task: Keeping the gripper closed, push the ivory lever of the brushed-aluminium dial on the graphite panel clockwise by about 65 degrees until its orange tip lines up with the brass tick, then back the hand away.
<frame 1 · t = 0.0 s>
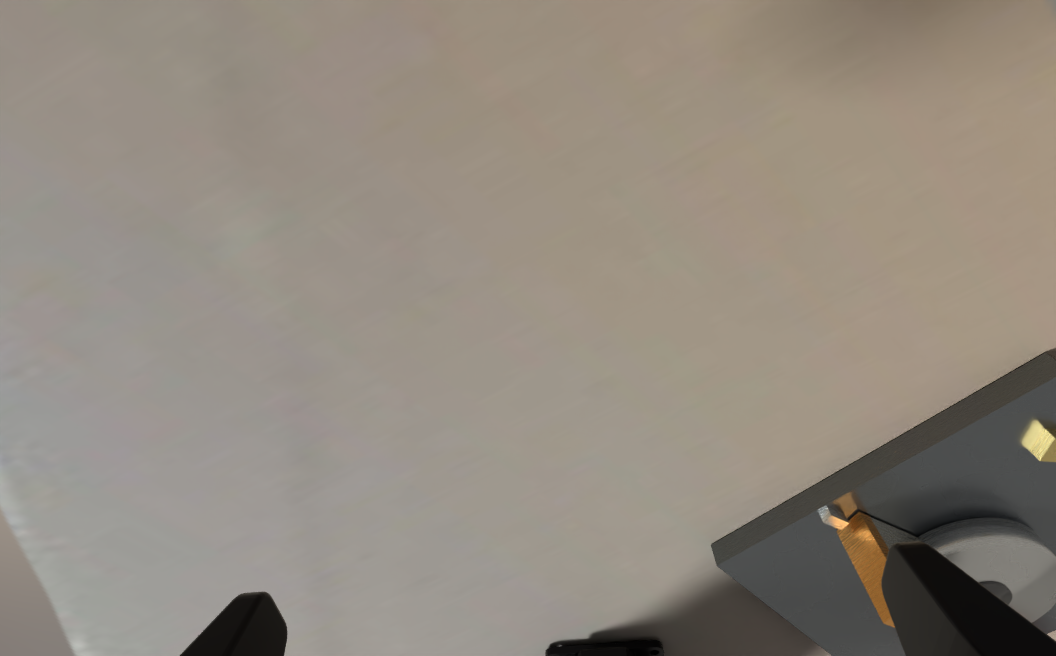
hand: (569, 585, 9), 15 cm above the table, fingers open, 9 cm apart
panel: (945, 546, 30), on the table
dial: (962, 601, 27), point 4 cm above the table, hinge at 0.0°
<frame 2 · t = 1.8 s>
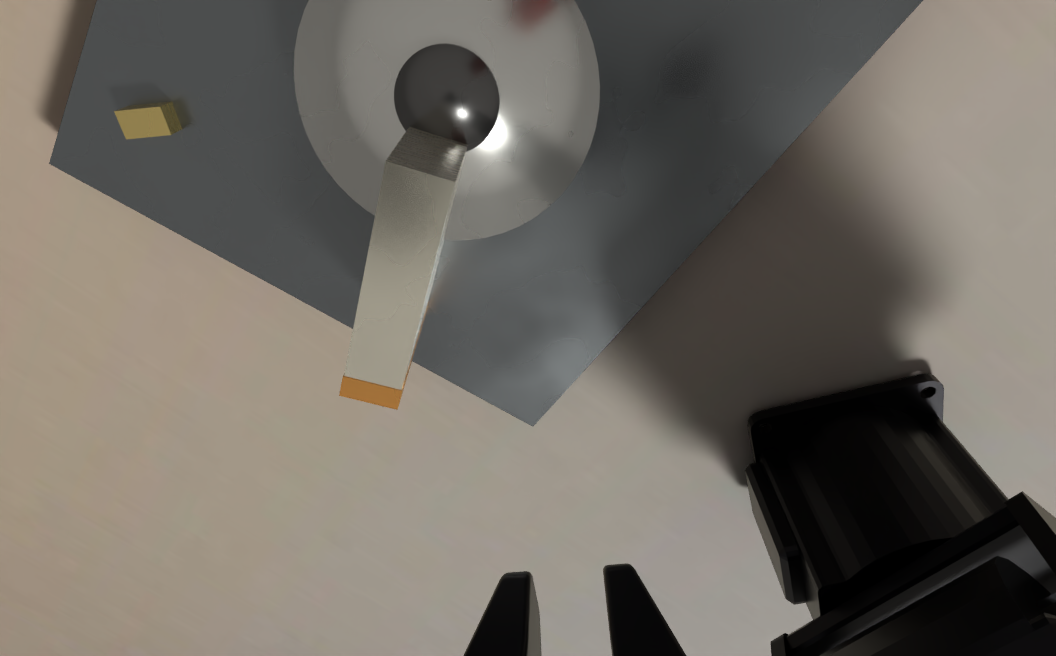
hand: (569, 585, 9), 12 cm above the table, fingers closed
panel: (460, 77, 17), on the table
dial: (427, 177, 15), point 3 cm above the table, hinge at 0.0°
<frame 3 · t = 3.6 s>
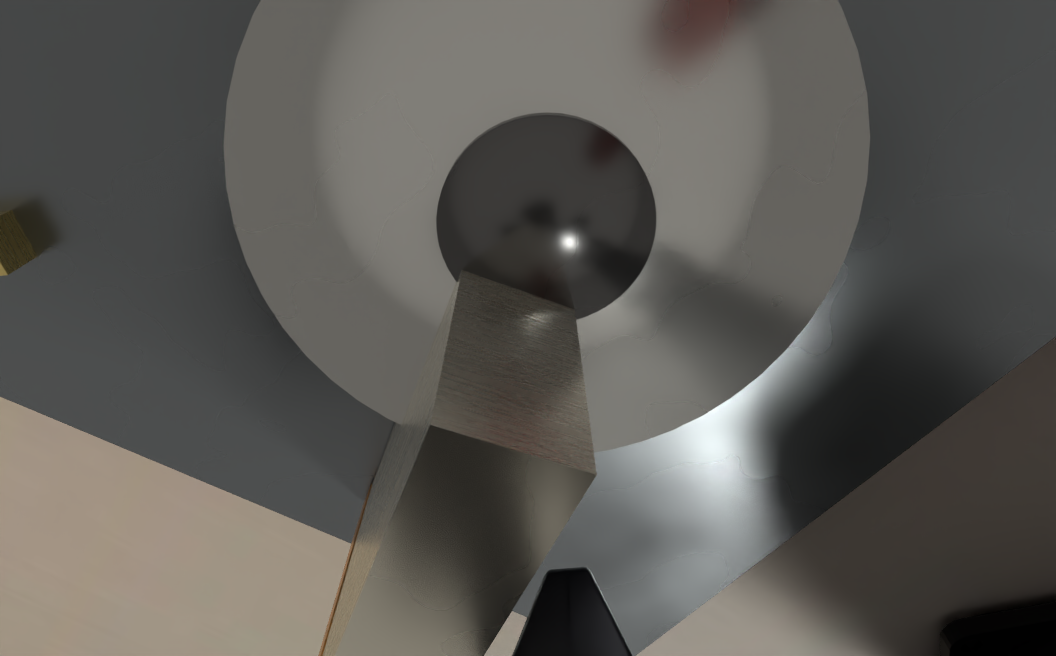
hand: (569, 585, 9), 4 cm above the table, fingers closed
panel: (540, 153, 9), on the table
dial: (491, 372, 7), point 3 cm above the table, hinge at 5.1°, touching gripper
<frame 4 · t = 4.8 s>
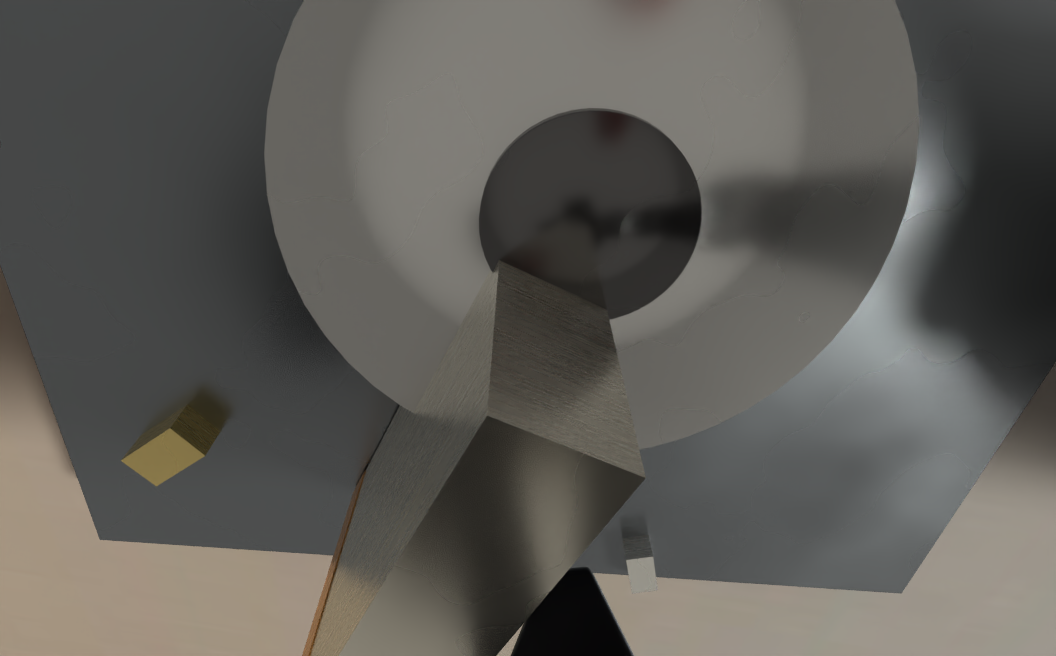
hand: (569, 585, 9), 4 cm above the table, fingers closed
panel: (571, 150, 9), on the table
dial: (519, 367, 7), point 4 cm above the table, hinge at 38.6°, touching gripper
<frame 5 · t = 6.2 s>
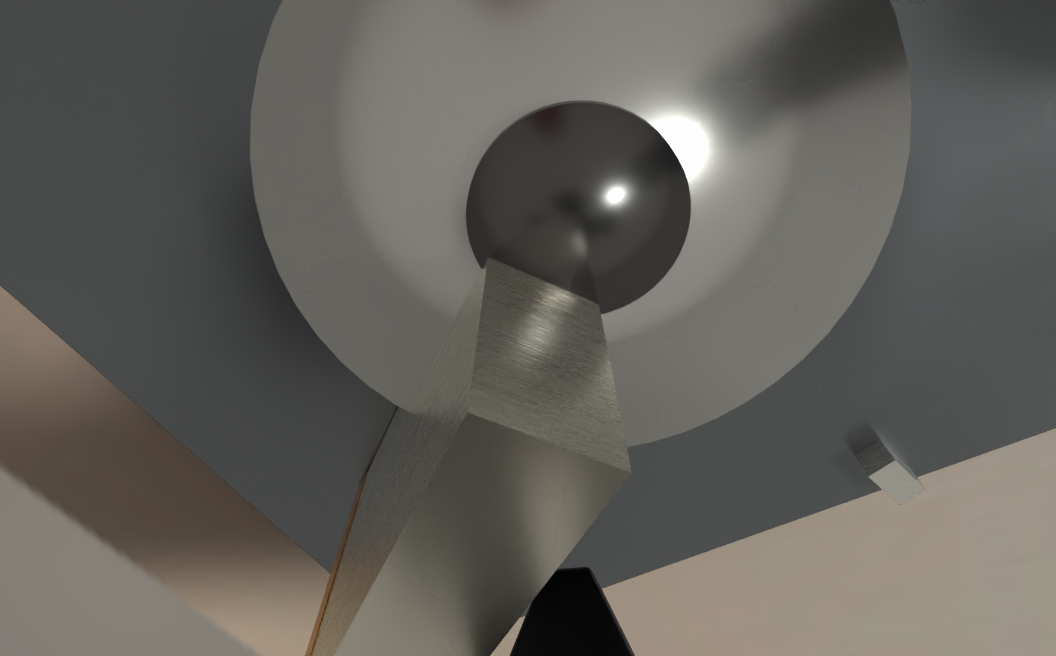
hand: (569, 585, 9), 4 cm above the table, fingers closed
panel: (564, 145, 9), on the table
dial: (511, 363, 7), point 4 cm above the table, hinge at 73.2°, touching gripper
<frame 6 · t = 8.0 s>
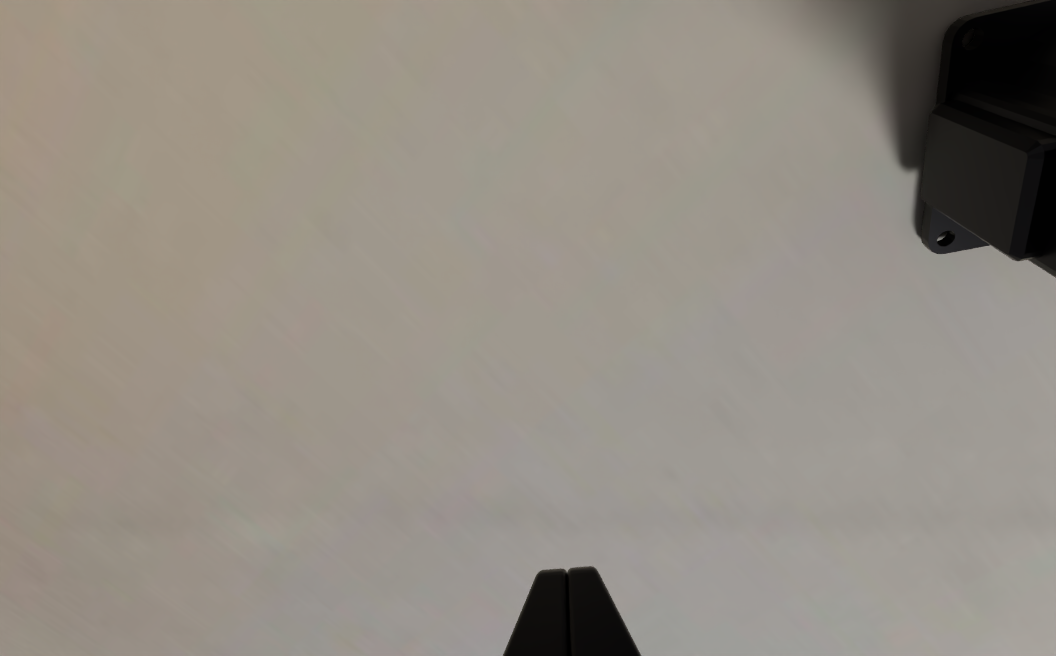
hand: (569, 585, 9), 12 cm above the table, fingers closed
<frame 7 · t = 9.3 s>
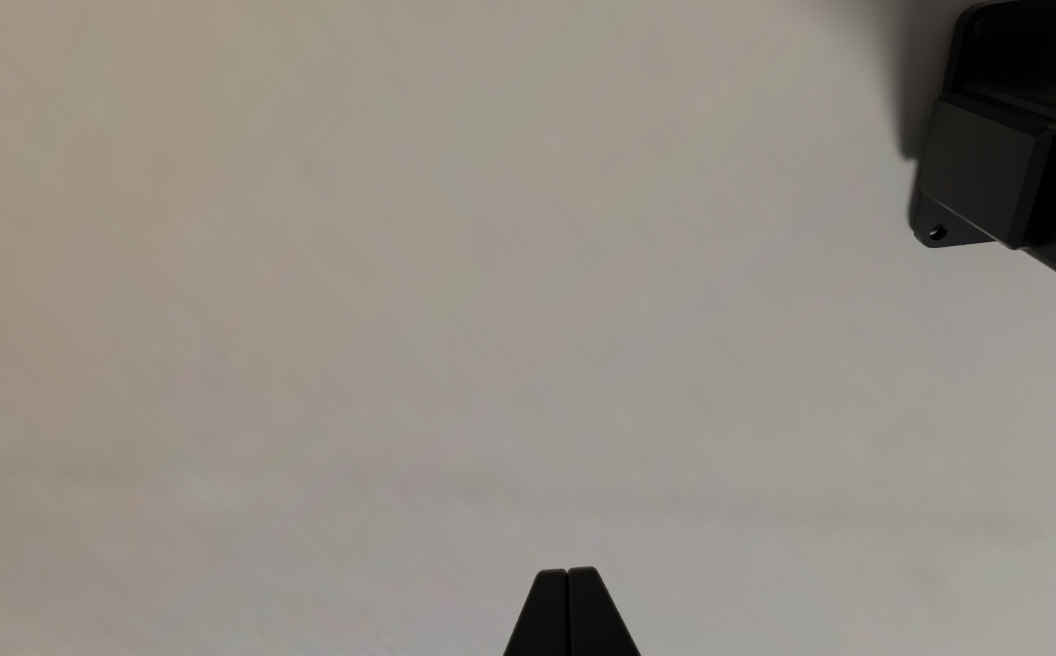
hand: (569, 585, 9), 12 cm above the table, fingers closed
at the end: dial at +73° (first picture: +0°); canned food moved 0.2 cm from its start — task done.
